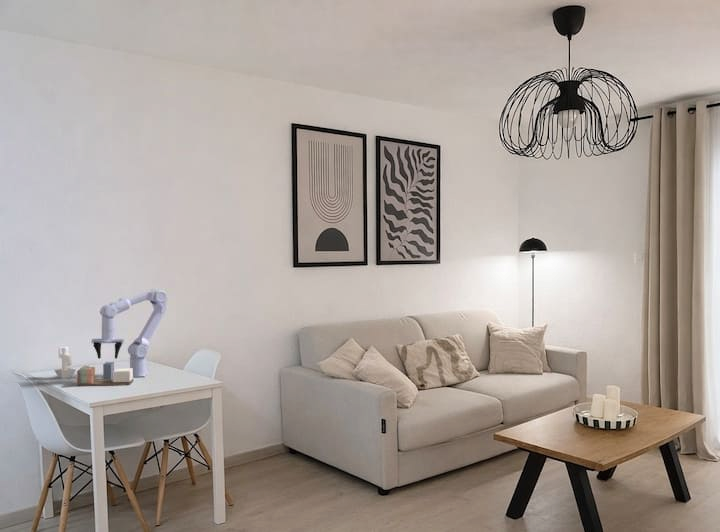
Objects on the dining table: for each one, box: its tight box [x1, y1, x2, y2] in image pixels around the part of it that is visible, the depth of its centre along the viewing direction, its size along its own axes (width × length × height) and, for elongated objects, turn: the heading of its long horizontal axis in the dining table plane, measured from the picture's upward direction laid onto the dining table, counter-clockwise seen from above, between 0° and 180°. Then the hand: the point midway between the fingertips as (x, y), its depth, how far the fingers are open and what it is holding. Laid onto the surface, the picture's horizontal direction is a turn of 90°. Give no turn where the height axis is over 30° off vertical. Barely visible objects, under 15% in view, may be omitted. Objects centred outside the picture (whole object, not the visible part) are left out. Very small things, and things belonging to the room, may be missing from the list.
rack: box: [76, 365, 134, 387], centre depth 289 cm, size 8×23×8 cm, turn 99°
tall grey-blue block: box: [102, 361, 115, 380], centre depth 298 cm, size 6×4×8 cm, turn 9°
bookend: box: [113, 367, 134, 382], centre depth 290 cm, size 7×8×5 cm
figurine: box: [54, 346, 77, 379], centre depth 302 cm, size 7×9×15 cm
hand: (107, 358), depth 297 cm, fingers open, 7 cm apart
